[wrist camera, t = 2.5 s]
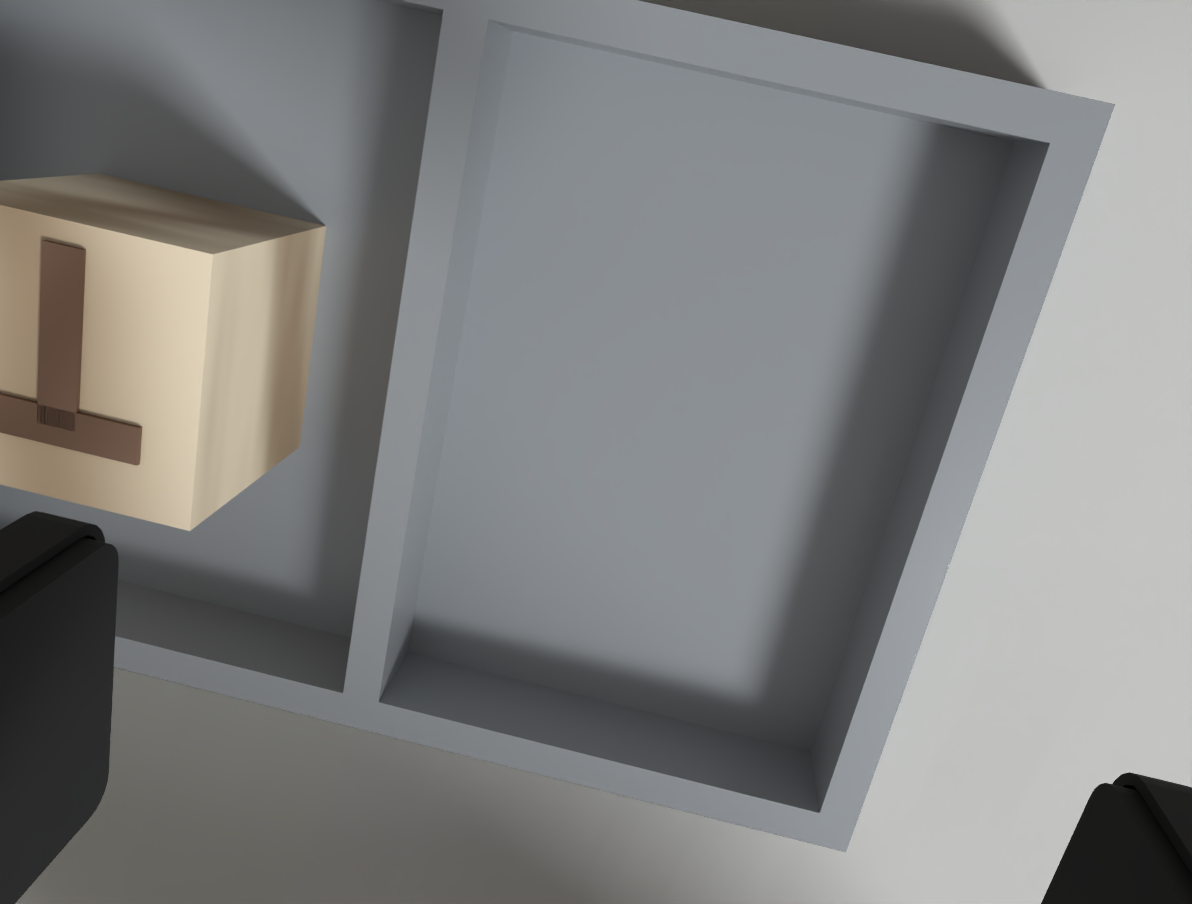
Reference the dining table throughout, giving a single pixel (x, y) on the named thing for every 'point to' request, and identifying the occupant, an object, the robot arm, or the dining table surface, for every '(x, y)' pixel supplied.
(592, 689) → the tray
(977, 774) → the dining table surface
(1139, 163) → the dining table surface
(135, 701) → the dining table surface
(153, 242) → the letter block
